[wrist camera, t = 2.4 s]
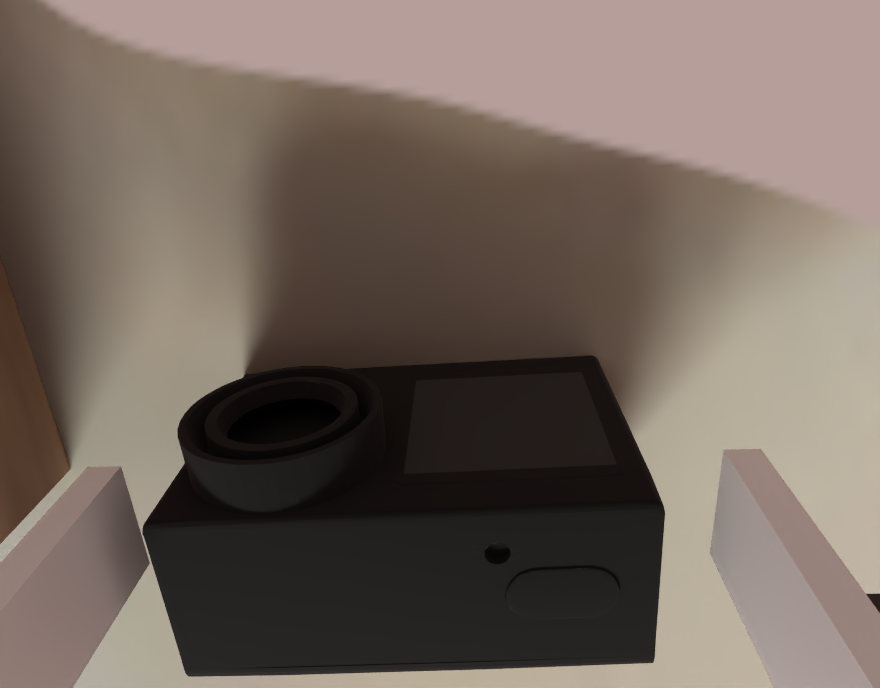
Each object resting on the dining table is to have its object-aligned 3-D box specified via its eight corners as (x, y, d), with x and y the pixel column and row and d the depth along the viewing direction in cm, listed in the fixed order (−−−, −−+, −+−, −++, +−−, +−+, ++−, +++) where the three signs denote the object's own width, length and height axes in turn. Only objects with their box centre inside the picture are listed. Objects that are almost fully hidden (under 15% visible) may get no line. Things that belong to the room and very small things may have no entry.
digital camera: (602, 313, 19) (678, 451, 12) (599, 478, 21) (661, 669, 14) (234, 334, 19) (120, 477, 13) (267, 493, 21) (183, 683, 15)
